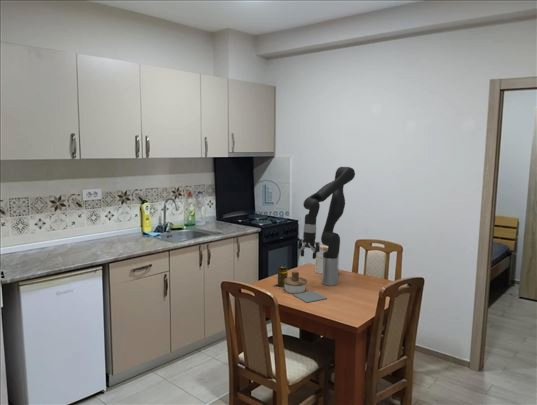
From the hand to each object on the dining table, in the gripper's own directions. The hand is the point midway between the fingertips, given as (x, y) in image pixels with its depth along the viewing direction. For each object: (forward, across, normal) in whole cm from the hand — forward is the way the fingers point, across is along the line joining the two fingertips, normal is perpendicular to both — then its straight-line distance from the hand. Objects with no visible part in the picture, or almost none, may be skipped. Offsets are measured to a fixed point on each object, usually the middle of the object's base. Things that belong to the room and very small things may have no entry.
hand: (308, 257), depth 258 cm
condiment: (+20, +14, +8) cm, 25 cm away
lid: (+14, +2, +9) cm, 17 cm away
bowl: (+19, +2, +8) cm, 21 cm away
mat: (+20, -11, +12) cm, 26 cm away
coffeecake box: (+17, +7, -35) cm, 39 cm away
